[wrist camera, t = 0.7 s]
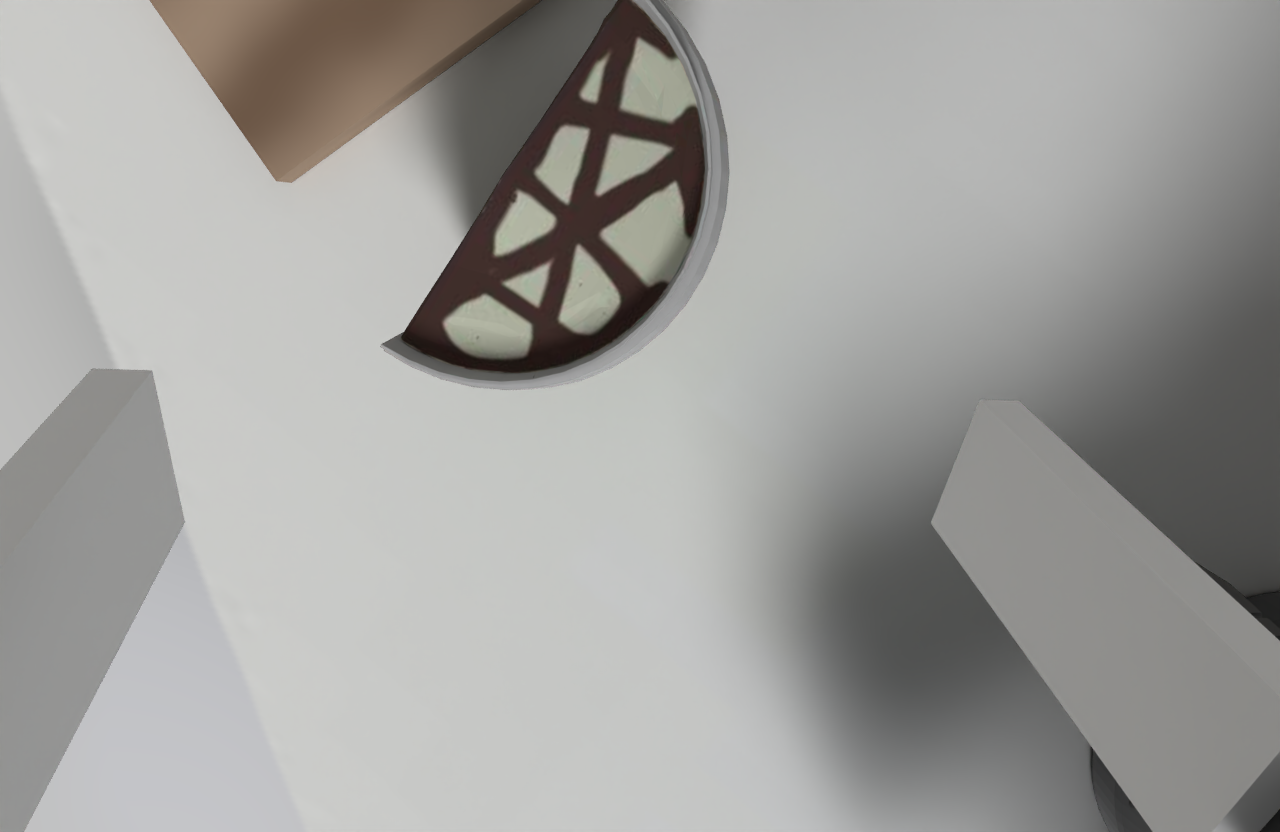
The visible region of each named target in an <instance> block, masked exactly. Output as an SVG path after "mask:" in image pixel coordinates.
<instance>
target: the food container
mask: <svg viewBox="0 0 1280 832" xmlns="http://www.w3.org/2000/svg"><path fill="white" fill-rule="evenodd" d="M728 182H729V160H728V143H727V134H726V129H725V124H724V120H723V115H722V110H721V106H720V101H719V98H718V95H717V93H716V90H715V87H714V85H713V82H712V79H711V77H710V74H709V72H708V69H707V66H706V64H705V62H704V60H703V59H702V57H701V55H700V53H699V52H698V50H697V48H696V46H695V45H694V43H693V41H692V39H691V38H690V36H689V34H688V32H687V31H686V29H685V28H684V27H683V26H682V24H681V23H680V22H679V21H678V19H677V18H676V17H675V16H674V14H673V13H672V12H671V11H670V9H669V8H668V7H667V6H666V4H665V3H664V2H663V1H662V0H618V1H617V2H616V4H615V6H614V7H613V9H612V10H611V12H610V13H609V14H608V15H607V16H606V18H605V19H604V21H603V23H602V25H601V27H600V29H599V31H598V33H597V35H596V36H595V38H594V40H593V41H592V43H591V45H590V46H589V48H588V49H587V51H586V52H585V54H584V56H583V57H582V59H581V60H580V62H579V63H578V65H577V66H576V68H575V69H574V71H573V72H572V74H571V75H570V77H569V78H568V80H567V81H566V83H565V84H564V86H563V87H562V89H561V90H560V92H559V93H558V95H557V96H556V98H555V99H554V101H553V102H552V104H551V105H550V107H549V108H548V110H547V111H546V113H545V114H544V116H543V117H542V119H541V120H540V122H539V123H538V125H537V126H536V128H535V129H534V131H533V132H532V134H531V135H530V136H529V138H528V139H527V141H526V142H525V144H524V145H523V147H522V148H521V149H520V151H519V152H518V154H517V155H516V157H515V158H514V160H513V161H512V163H511V164H510V165H509V167H508V168H507V170H506V171H505V173H504V174H503V176H502V177H501V179H500V181H499V182H498V184H497V186H496V187H495V189H494V190H493V192H492V194H491V195H490V197H489V199H488V200H487V202H486V204H485V205H484V207H483V209H482V210H481V212H480V214H479V215H478V217H477V219H476V220H475V222H474V223H473V225H472V226H471V228H470V230H469V231H468V233H467V234H466V236H465V238H464V239H463V241H462V242H461V244H460V245H459V247H458V249H457V250H456V252H455V253H454V255H453V257H452V258H451V260H450V261H449V263H448V264H447V266H446V267H445V269H444V270H443V272H442V274H441V275H440V277H439V278H438V280H437V281H436V283H435V284H434V286H433V287H432V289H431V291H430V292H429V294H428V295H427V297H426V298H425V300H424V301H423V303H422V305H421V306H420V308H419V309H418V311H417V312H416V314H415V316H414V317H413V319H412V320H411V322H410V323H409V325H408V327H407V328H406V330H405V331H404V332H403V333H401V334H399V335H397V336H396V337H394V338H392V339H390V340H388V341H387V342H385V343H383V344H381V346H380V347H381V348H383V349H384V351H385V352H387V353H389V354H390V355H392V356H394V357H395V358H397V359H399V360H400V361H402V362H404V363H405V364H407V365H409V366H410V367H413V368H415V369H418V370H420V371H423V372H425V373H427V374H430V375H432V376H435V377H437V378H440V379H442V380H446V381H450V382H455V383H459V384H463V385H467V386H471V387H477V388H489V389H500V390H525V389H539V388H551V387H555V386H560V385H564V384H568V383H573V382H577V381H581V380H584V379H586V378H589V377H591V376H594V375H596V374H599V373H601V372H603V371H606V370H608V369H611V368H613V367H614V366H616V365H618V364H619V363H621V362H623V361H624V360H626V359H628V358H629V357H631V356H632V355H634V354H636V353H637V352H639V351H640V350H641V349H643V348H644V347H645V346H646V345H647V344H649V343H650V342H651V341H652V340H653V339H654V338H656V337H657V336H658V335H659V334H660V333H661V332H663V331H664V330H665V329H666V328H667V326H668V325H669V324H670V323H671V322H672V321H673V319H674V318H675V317H676V316H677V315H678V314H679V312H680V311H681V310H682V309H683V308H684V307H685V305H686V304H687V302H688V301H689V299H690V298H691V296H692V294H693V293H694V291H695V289H696V288H697V286H698V285H699V283H700V281H701V280H702V278H703V276H704V274H705V272H706V270H707V267H708V265H709V262H710V260H711V258H712V255H713V253H714V251H715V248H716V246H717V243H718V239H719V235H720V231H721V227H722V223H723V219H724V215H725V211H726V204H727V193H728Z"/></svg>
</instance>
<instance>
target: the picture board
mask: <svg viewBox="0 0 1280 832" xmlns="http://www.w3.org/2000/svg"><path fill="white" fill-rule="evenodd" d="M540 1H542V0H150V2H151V3H152V5H153V6H154V7H155V9H156V10H157V12H158V13H159V15H160V16H161V17H162V19H163V20H164V22H165V23H166V25H167V26H168V27H169V29H170V30H171V32H172V33H173V35H174V36H175V37H176V39H177V40H178V42H179V43H180V45H181V46H182V47H183V49H184V50H185V52H186V53H187V55H188V56H189V57H190V59H191V60H192V62H193V63H194V65H195V66H196V67H197V69H198V70H199V72H200V73H201V75H202V76H203V77H204V79H205V80H206V82H207V83H208V85H209V86H210V87H211V89H212V90H213V92H214V93H215V94H216V96H217V97H218V99H219V100H220V102H221V103H222V104H223V106H224V107H225V109H226V110H227V112H228V113H229V114H230V116H231V117H232V119H233V120H234V122H235V123H236V124H237V126H238V127H239V129H240V130H241V132H242V133H243V134H244V136H245V137H246V139H247V140H248V142H249V143H250V144H251V146H252V147H253V149H254V150H255V152H256V153H257V154H258V156H259V157H260V159H261V160H262V162H263V163H264V164H265V166H266V167H267V169H268V170H269V172H270V173H271V174H272V176H273V177H274V179H275V180H276V181H281V182H290V183H292V182H293V181H295V180H296V179H297V178H299V177H300V176H301V175H303V174H304V173H306V172H307V171H308V170H310V169H311V168H312V167H314V166H315V165H317V164H318V163H319V162H321V161H322V160H323V159H325V158H326V157H328V156H329V155H330V154H332V153H333V152H334V151H336V150H337V149H338V148H340V147H341V146H343V145H344V144H345V143H347V142H348V141H349V140H351V139H352V138H354V137H355V136H356V135H358V134H359V133H360V132H362V131H363V130H365V129H366V128H367V127H369V126H370V125H371V124H373V123H374V122H376V121H377V120H378V119H380V118H381V117H382V116H384V115H385V114H386V113H388V112H389V111H391V110H392V109H393V108H395V107H396V106H397V105H399V104H400V103H402V102H403V101H404V100H406V99H407V98H408V97H410V96H411V95H413V94H414V93H415V92H417V91H418V90H419V89H421V88H422V87H424V86H425V85H426V84H428V83H429V82H430V81H432V80H433V79H435V78H436V77H437V76H439V75H440V74H441V73H443V72H444V71H445V70H447V69H448V68H450V67H451V66H452V65H454V64H455V63H456V62H458V61H459V60H461V59H462V58H463V57H465V56H466V55H467V54H469V53H470V52H472V51H473V50H474V49H476V48H477V47H478V46H480V45H481V44H483V43H484V42H485V41H487V40H488V39H489V38H491V37H492V36H494V35H495V34H496V33H498V32H499V31H500V30H502V29H503V28H504V27H506V26H507V25H509V24H510V23H511V22H513V21H514V20H515V19H517V18H518V17H520V16H521V15H522V14H524V13H525V12H526V11H528V10H529V9H531V8H532V7H533V6H535V5H536V4H537V3H539V2H540Z"/></svg>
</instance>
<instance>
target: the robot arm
mask: <svg viewBox="0 0 1280 832" xmlns="http://www.w3.org/2000/svg"><path fill="white" fill-rule="evenodd" d="M184 523H185V521H184V516H183V512H182V507H181V502H180V498H179V493H178V488H177V484H176V479H175V474H174V470H173V465H172V461H171V456H170V451H169V447H168V442H167V437H166V433H165V428H164V423H163V419H162V414H161V410H160V405H159V400H158V396H157V391H156V386H155V382H154V377H153V372H152V371H148V370H119V369H91V371H90V372H89V373H88V374H87V375H86V376H85V377H84V378H83V379H82V381H80V383H79V384H78V385H77V386H76V387H75V388H74V389H73V390H72V392H71V393H70V394H69V395H68V396H67V397H66V398H65V399H64V400H63V401H62V403H61V404H60V405H59V406H58V407H57V408H56V409H55V410H54V412H52V414H51V415H50V416H49V417H48V418H47V419H46V420H45V421H44V423H42V425H41V426H40V427H39V428H38V429H37V430H36V431H35V433H34V434H33V435H32V436H31V437H30V438H29V439H28V440H27V441H26V442H25V443H24V444H23V446H22V447H21V448H20V449H19V450H18V451H17V452H16V453H15V454H14V456H13V457H12V458H11V459H10V460H9V461H8V462H7V464H5V466H4V467H3V468H2V469H1V470H0V832H24V830H25V829H26V827H27V825H28V823H29V821H30V819H31V817H32V815H33V813H34V811H35V809H36V807H37V806H38V804H39V802H40V800H41V798H42V796H43V794H44V792H45V790H46V788H47V786H48V784H49V782H50V781H51V779H52V777H53V775H54V773H55V771H56V769H57V767H58V765H59V763H60V761H61V759H62V757H63V756H64V754H65V752H66V750H67V748H68V746H69V744H70V742H71V740H72V738H73V736H74V734H75V732H76V731H77V729H78V727H79V725H80V723H81V721H82V719H83V717H84V715H85V713H86V711H87V709H88V707H89V706H90V704H91V702H92V700H93V698H94V696H95V694H96V692H97V690H98V688H99V686H100V684H101V682H102V681H103V678H104V677H105V675H106V673H107V671H108V669H109V667H110V665H111V663H112V661H113V659H114V657H115V656H116V654H117V652H118V650H119V648H120V646H121V644H122V642H123V640H124V638H125V636H126V634H127V632H128V631H129V628H130V627H131V625H132V623H133V621H134V619H135V617H136V615H137V613H138V611H139V609H140V607H141V605H142V604H143V601H144V600H145V598H146V596H147V594H148V592H149V590H150V588H151V586H152V584H153V582H154V581H155V579H156V577H157V575H158V573H159V571H160V569H161V567H162V565H163V563H164V561H165V559H166V557H167V555H168V553H169V552H170V550H171V548H172V546H173V544H174V542H175V540H176V538H177V536H178V534H179V532H180V531H181V529H182V527H183V525H184ZM931 524H932V525H933V527H934V528H935V530H936V531H937V532H938V534H939V535H940V537H941V538H942V539H943V541H944V542H945V544H946V545H947V546H948V548H949V549H950V551H951V552H952V553H953V555H954V556H955V557H956V559H957V560H958V562H959V563H960V564H961V566H962V567H963V569H964V570H965V571H966V573H967V574H968V576H969V577H970V578H971V580H972V581H973V583H974V584H975V585H976V587H977V588H978V589H979V591H980V592H981V594H982V595H983V596H984V598H985V599H986V601H987V602H988V603H989V605H990V606H991V608H992V609H993V610H994V612H995V613H996V615H997V616H998V617H999V619H1000V620H1001V621H1002V623H1003V624H1004V626H1005V627H1006V628H1007V630H1008V631H1009V633H1010V634H1011V635H1012V637H1013V638H1014V640H1015V641H1016V642H1017V644H1018V645H1019V647H1020V648H1021V649H1022V651H1023V652H1024V653H1025V655H1026V656H1027V658H1028V659H1029V660H1030V662H1031V663H1032V665H1033V666H1034V667H1035V669H1036V670H1037V672H1038V673H1039V674H1040V676H1041V677H1042V678H1043V680H1044V681H1045V683H1046V684H1047V685H1048V687H1049V688H1050V690H1051V691H1052V692H1053V694H1054V695H1055V697H1056V698H1057V699H1058V701H1059V702H1060V704H1061V705H1062V706H1063V708H1064V709H1065V710H1066V712H1067V713H1068V715H1069V716H1070V717H1071V719H1072V720H1073V722H1074V723H1075V724H1076V726H1077V727H1078V729H1079V730H1080V731H1081V733H1082V734H1083V736H1084V737H1085V738H1086V740H1087V741H1088V742H1089V744H1090V745H1091V747H1092V748H1093V749H1094V751H1093V761H1092V776H1093V786H1094V792H1095V796H1096V801H1097V804H1098V807H1099V810H1100V813H1101V815H1102V817H1103V820H1104V822H1105V824H1106V826H1107V827H1108V829H1109V831H1110V832H1280V592H1275V593H1269V594H1263V595H1258V596H1254V597H1250V598H1245V597H1244V596H1243V595H1242V594H1241V593H1240V592H1238V591H1237V590H1236V589H1235V588H1234V587H1233V586H1232V585H1231V584H1229V583H1228V582H1226V581H1224V580H1223V579H1221V578H1220V577H1218V576H1216V575H1215V574H1213V573H1212V572H1210V571H1208V570H1207V569H1205V568H1204V567H1202V566H1200V565H1199V564H1197V563H1196V562H1194V561H1193V560H1191V559H1190V558H1189V557H1188V556H1187V555H1186V554H1185V553H1184V552H1183V551H1182V550H1181V549H1179V548H1178V547H1177V546H1176V545H1175V544H1174V543H1173V542H1172V541H1171V540H1170V539H1169V538H1168V537H1166V536H1165V535H1164V534H1163V533H1162V532H1161V531H1160V530H1159V529H1158V528H1157V527H1156V526H1154V525H1153V524H1152V523H1151V522H1150V521H1149V520H1148V519H1147V518H1146V517H1145V516H1144V515H1143V514H1141V513H1140V512H1139V511H1138V510H1137V509H1136V508H1135V507H1134V506H1133V505H1132V504H1131V503H1129V502H1128V501H1127V500H1126V499H1125V498H1124V497H1123V496H1122V495H1121V494H1120V493H1119V492H1118V491H1116V490H1115V489H1114V488H1113V487H1112V486H1111V485H1110V484H1109V483H1108V482H1107V481H1106V480H1105V479H1103V478H1102V477H1101V476H1100V475H1099V474H1098V473H1097V472H1096V471H1095V470H1094V469H1093V468H1091V467H1090V466H1089V465H1088V464H1087V463H1086V462H1085V461H1084V460H1083V459H1082V458H1081V457H1080V456H1078V455H1077V454H1076V453H1075V452H1074V451H1073V450H1072V449H1071V448H1070V447H1069V446H1068V445H1067V444H1065V443H1064V442H1063V441H1062V440H1061V439H1060V438H1059V437H1058V436H1057V435H1056V434H1055V433H1053V432H1052V431H1051V430H1050V429H1049V428H1048V427H1047V426H1046V425H1045V424H1044V423H1043V422H1042V421H1040V420H1039V419H1038V418H1037V417H1036V416H1035V415H1034V414H1033V413H1032V412H1031V411H1030V410H1029V409H1027V408H1026V407H1025V406H1024V405H1023V404H1022V403H1021V402H1020V401H1015V400H986V399H980V400H979V403H978V405H977V408H976V410H975V413H974V415H973V418H972V420H971V423H970V425H969V428H968V430H967V433H966V435H965V438H964V441H963V443H962V446H961V448H960V451H959V453H958V456H957V458H956V461H955V463H954V466H953V468H952V471H951V473H950V476H949V478H948V481H947V483H946V486H945V488H944V491H943V493H942V496H941V498H940V501H939V503H938V506H937V509H936V511H935V514H934V516H933V519H932V521H931Z"/></svg>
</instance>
